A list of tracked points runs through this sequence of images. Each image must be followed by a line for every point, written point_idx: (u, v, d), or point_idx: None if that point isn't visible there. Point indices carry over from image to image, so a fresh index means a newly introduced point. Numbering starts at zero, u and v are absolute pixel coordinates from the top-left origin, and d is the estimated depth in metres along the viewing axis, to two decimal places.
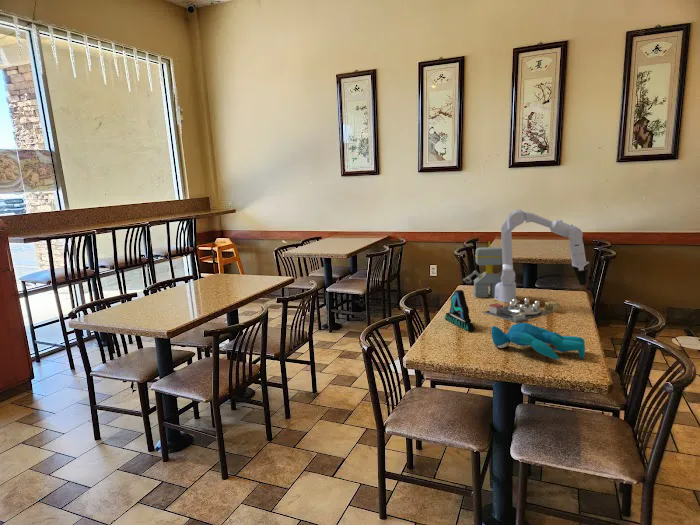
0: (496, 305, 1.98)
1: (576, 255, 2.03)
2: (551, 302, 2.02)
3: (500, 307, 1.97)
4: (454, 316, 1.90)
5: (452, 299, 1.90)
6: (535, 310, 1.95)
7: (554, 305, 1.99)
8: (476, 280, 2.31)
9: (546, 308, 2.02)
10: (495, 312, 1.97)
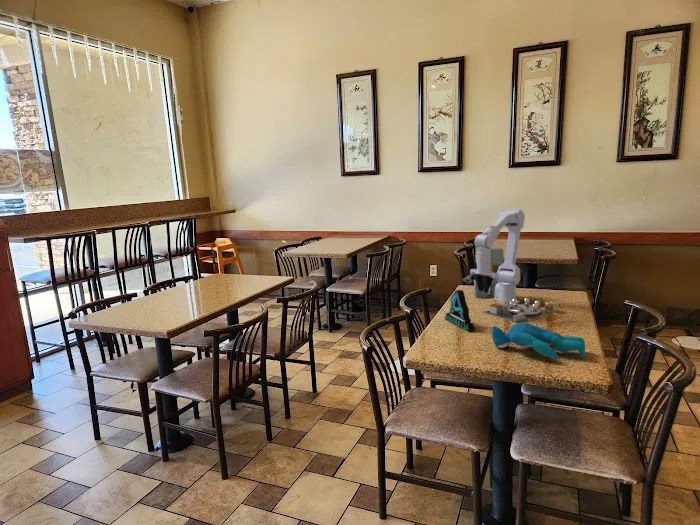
0: (496, 305, 1.98)
1: None
2: (551, 302, 2.02)
3: (500, 307, 1.97)
4: (454, 316, 1.90)
5: (452, 299, 1.90)
6: (535, 310, 1.95)
7: (554, 305, 1.99)
8: None
9: (546, 308, 2.02)
10: (495, 312, 1.97)
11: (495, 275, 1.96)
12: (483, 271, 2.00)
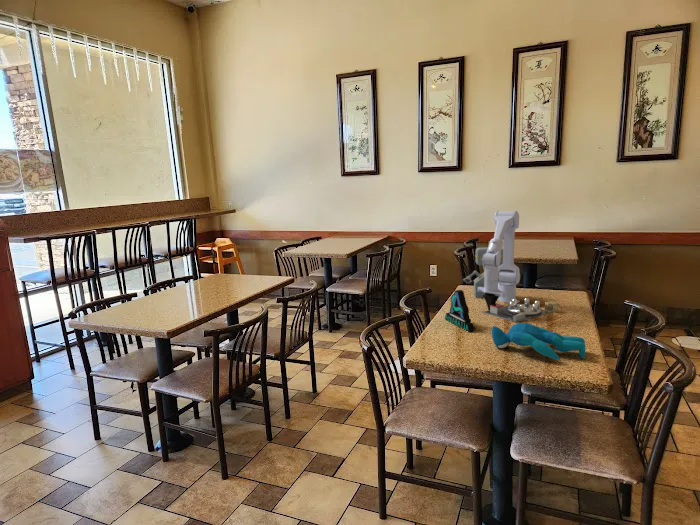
0: (497, 305, 1.98)
1: None
2: (551, 302, 2.02)
3: (501, 307, 1.97)
4: (454, 316, 1.90)
5: (452, 299, 1.90)
6: (535, 310, 1.95)
7: (554, 305, 1.99)
8: (476, 280, 2.31)
9: (546, 308, 2.02)
10: (496, 312, 1.97)
11: (503, 294, 1.94)
12: (491, 290, 1.97)
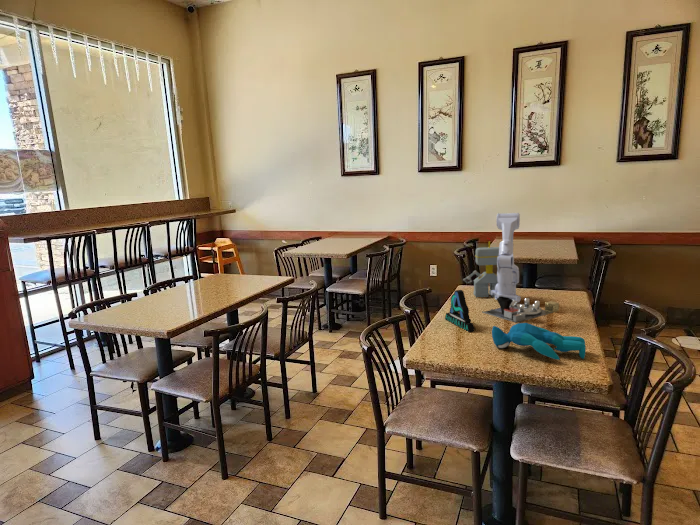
0: (511, 309, 1.91)
1: None
2: (551, 302, 2.02)
3: (515, 311, 1.90)
4: (454, 316, 1.90)
5: (452, 299, 1.90)
6: (535, 310, 1.95)
7: (554, 305, 1.99)
8: (476, 280, 2.31)
9: (546, 308, 2.02)
10: (510, 316, 1.90)
11: (518, 298, 1.87)
12: (505, 293, 1.91)
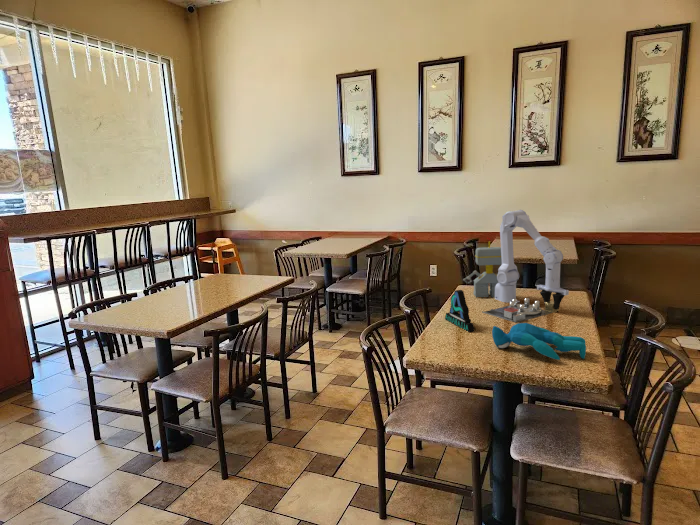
0: (511, 309, 1.91)
1: None
2: (551, 302, 2.02)
3: (515, 311, 1.90)
4: (454, 316, 1.90)
5: (452, 299, 1.90)
6: (535, 310, 1.95)
7: None
8: (476, 280, 2.31)
9: (546, 308, 2.02)
10: (510, 316, 1.90)
11: (566, 292, 1.94)
12: (553, 288, 1.97)
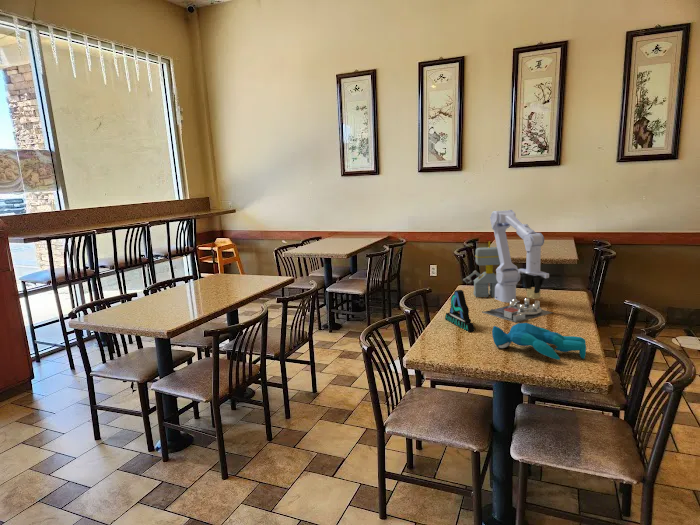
0: (511, 309, 1.91)
1: None
2: (532, 288, 2.00)
3: (515, 311, 1.90)
4: (454, 316, 1.90)
5: (452, 299, 1.90)
6: (535, 310, 1.95)
7: None
8: (476, 280, 2.31)
9: (528, 294, 2.01)
10: (510, 316, 1.90)
11: (547, 275, 1.92)
12: (533, 271, 1.96)
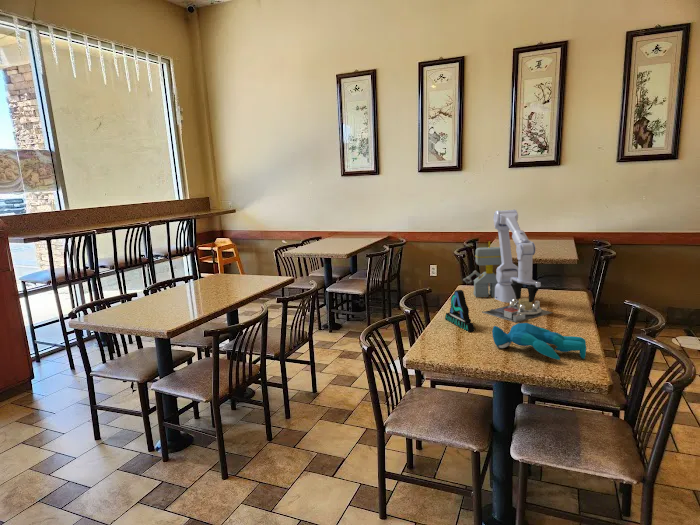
0: (511, 309, 1.91)
1: None
2: (525, 299, 2.01)
3: (515, 311, 1.90)
4: (454, 316, 1.90)
5: (452, 299, 1.90)
6: (535, 310, 1.95)
7: (527, 302, 1.99)
8: (476, 280, 2.31)
9: None
10: (510, 316, 1.90)
11: (538, 284, 1.93)
12: (525, 280, 1.96)
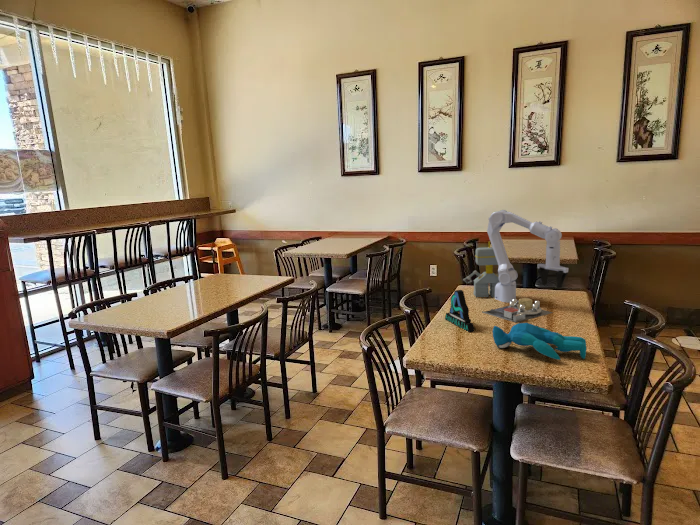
0: (511, 309, 1.91)
1: None
2: (525, 299, 2.01)
3: (515, 311, 1.90)
4: (454, 316, 1.90)
5: (452, 299, 1.90)
6: (535, 310, 1.95)
7: (527, 302, 1.99)
8: (476, 280, 2.31)
9: None
10: (510, 316, 1.90)
11: (566, 269, 1.98)
12: (553, 265, 2.02)
